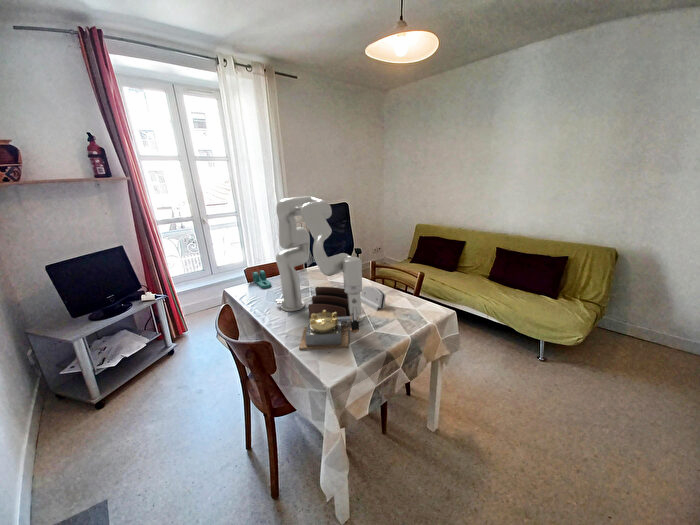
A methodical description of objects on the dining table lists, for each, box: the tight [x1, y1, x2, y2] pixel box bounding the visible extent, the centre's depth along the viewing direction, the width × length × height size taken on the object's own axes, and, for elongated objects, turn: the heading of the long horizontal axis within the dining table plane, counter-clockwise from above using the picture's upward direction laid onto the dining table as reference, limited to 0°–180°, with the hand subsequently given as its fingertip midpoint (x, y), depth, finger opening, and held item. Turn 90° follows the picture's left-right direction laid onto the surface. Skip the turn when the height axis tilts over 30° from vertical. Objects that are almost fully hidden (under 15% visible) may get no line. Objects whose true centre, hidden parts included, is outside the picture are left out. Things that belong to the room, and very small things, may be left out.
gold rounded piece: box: [309, 310, 360, 333], centre depth 118 cm, size 21×12×8 cm, turn 92°
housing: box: [298, 320, 350, 350], centre depth 119 cm, size 20×16×6 cm
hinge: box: [360, 285, 387, 311], centre depth 149 cm, size 17×5×10 cm, turn 35°
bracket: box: [252, 269, 272, 290], centre depth 183 cm, size 18×7×8 cm, turn 36°
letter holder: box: [307, 286, 350, 324], centre depth 136 cm, size 10×20×14 cm, turn 71°
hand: (355, 326), depth 119 cm, fingers closed on gold rounded piece, 3 cm apart
